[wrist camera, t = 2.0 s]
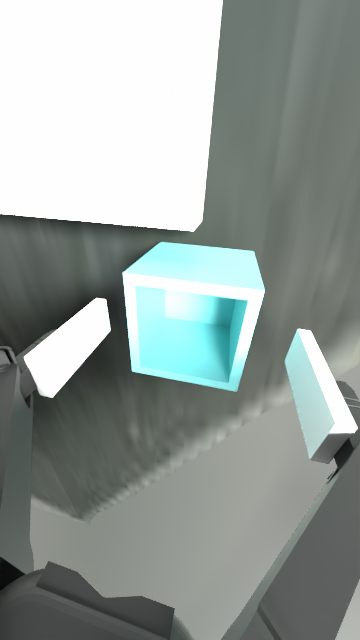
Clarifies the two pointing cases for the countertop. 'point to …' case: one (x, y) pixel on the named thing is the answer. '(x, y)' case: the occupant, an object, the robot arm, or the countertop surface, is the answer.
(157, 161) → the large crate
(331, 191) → the countertop surface
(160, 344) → the small crate
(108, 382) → the countertop surface
